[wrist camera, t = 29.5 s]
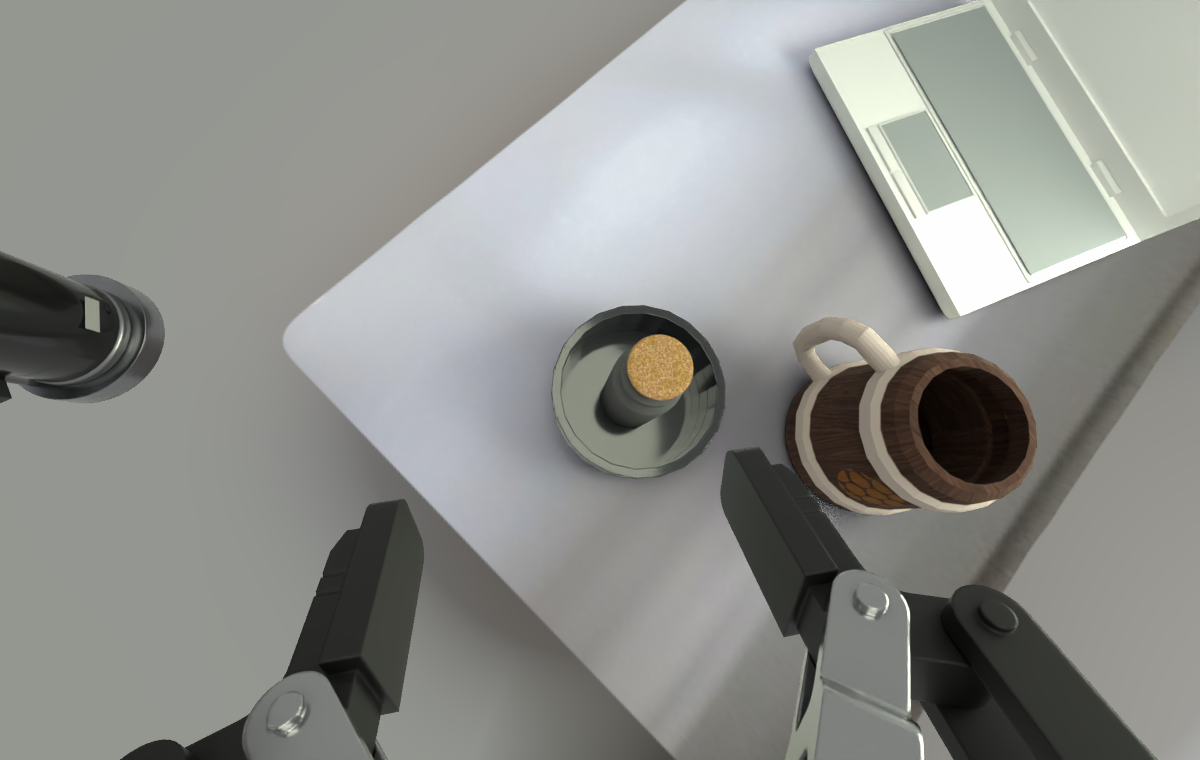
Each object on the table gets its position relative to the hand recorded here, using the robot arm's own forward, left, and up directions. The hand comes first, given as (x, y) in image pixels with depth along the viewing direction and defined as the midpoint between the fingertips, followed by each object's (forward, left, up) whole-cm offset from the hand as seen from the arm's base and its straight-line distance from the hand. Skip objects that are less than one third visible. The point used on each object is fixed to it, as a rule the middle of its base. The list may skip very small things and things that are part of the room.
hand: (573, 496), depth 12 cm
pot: (+10, +4, -35) cm, 36 cm away
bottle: (+9, +4, -34) cm, 36 cm away
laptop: (+60, +11, -35) cm, 70 cm away
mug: (+28, -8, -35) cm, 45 cm away
